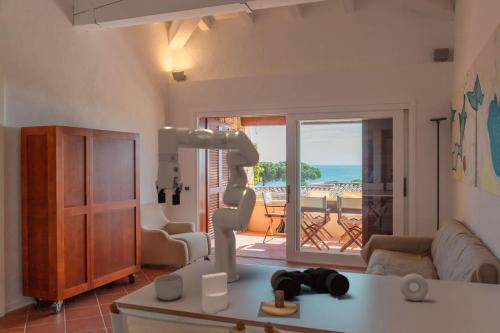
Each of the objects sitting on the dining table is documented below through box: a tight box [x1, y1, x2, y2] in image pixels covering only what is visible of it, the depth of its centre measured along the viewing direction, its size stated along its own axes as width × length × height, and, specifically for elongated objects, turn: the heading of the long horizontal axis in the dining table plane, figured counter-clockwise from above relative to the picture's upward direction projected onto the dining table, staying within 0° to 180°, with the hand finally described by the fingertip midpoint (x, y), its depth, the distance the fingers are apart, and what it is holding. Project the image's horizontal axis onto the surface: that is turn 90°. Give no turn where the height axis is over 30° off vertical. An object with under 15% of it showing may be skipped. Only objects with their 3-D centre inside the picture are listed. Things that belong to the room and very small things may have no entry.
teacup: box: [153, 272, 184, 301], centre depth 152 cm, size 14×11×8 cm
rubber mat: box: [256, 301, 301, 320], centre depth 135 cm, size 14×14×1 cm
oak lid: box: [262, 290, 297, 316], centre depth 135 cm, size 12×12×6 cm
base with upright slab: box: [201, 272, 228, 315], centre depth 139 cm, size 9×9×12 cm
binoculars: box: [270, 266, 351, 301], centre depth 155 cm, size 29×20×10 cm
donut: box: [399, 272, 430, 302], centre depth 145 cm, size 10×4×10 cm, turn 78°
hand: (168, 204), depth 150 cm, fingers open, 9 cm apart
